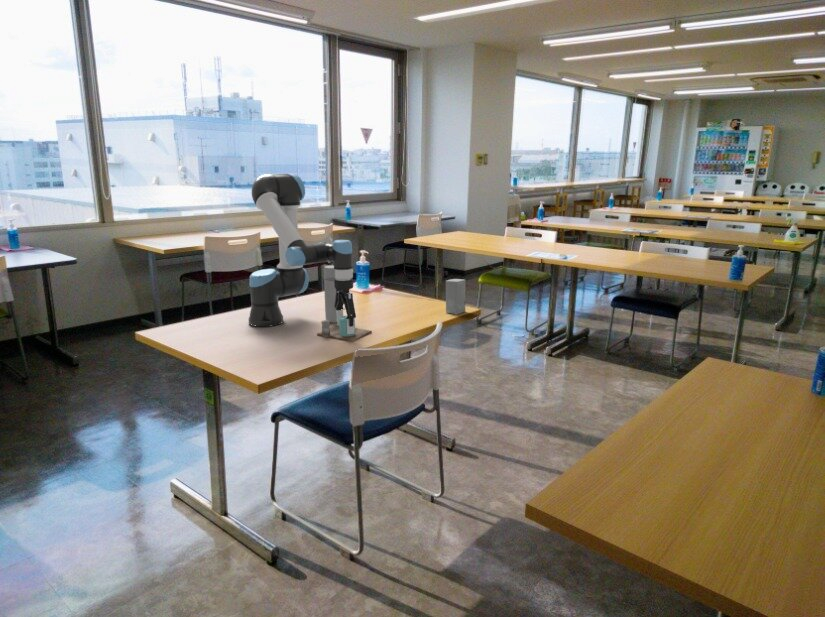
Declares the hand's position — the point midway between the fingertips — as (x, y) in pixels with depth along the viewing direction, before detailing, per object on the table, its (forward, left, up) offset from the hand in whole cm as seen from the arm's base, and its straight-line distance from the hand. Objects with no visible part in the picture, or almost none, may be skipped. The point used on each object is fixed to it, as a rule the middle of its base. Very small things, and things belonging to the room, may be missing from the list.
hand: (345, 329), depth 230 cm
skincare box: (+24, +56, -3) cm, 61 cm away
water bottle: (-17, +16, -3) cm, 24 cm away
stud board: (-2, +2, -3) cm, 4 cm away
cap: (+1, 0, -2) cm, 2 cm away
